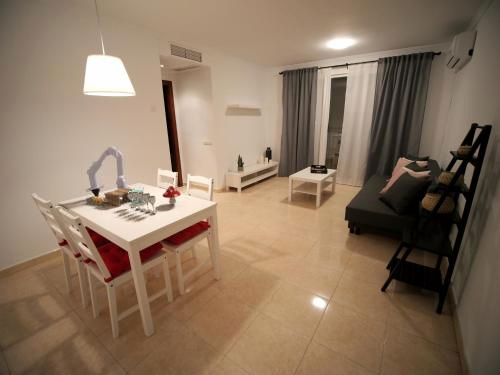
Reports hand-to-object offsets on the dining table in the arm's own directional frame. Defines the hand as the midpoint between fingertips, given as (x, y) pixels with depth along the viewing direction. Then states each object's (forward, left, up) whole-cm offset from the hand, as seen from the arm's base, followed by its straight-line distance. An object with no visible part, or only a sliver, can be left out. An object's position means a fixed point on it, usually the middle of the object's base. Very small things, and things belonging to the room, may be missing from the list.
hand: (96, 197), depth 199 cm
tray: (+9, +13, -2) cm, 16 cm away
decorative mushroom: (-12, +73, -2) cm, 74 cm away
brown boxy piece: (0, +30, -1) cm, 30 cm away
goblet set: (+6, +60, -2) cm, 61 cm away
